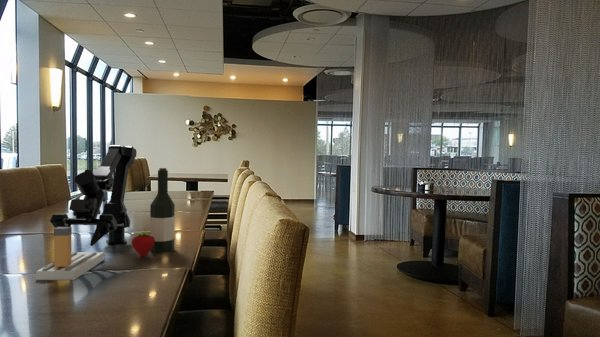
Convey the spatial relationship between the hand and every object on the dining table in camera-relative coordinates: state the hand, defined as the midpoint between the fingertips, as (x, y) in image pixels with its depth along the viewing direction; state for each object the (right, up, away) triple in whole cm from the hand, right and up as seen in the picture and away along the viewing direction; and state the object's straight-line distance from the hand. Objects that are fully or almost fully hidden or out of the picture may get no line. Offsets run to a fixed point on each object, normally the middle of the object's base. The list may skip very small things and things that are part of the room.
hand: (75, 245), depth 120 cm
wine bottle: (+19, -7, +23) cm, 30 cm away
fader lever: (0, -4, -7) cm, 8 cm away
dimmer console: (0, -7, -1) cm, 7 cm away
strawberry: (+15, -7, +14) cm, 22 cm away
